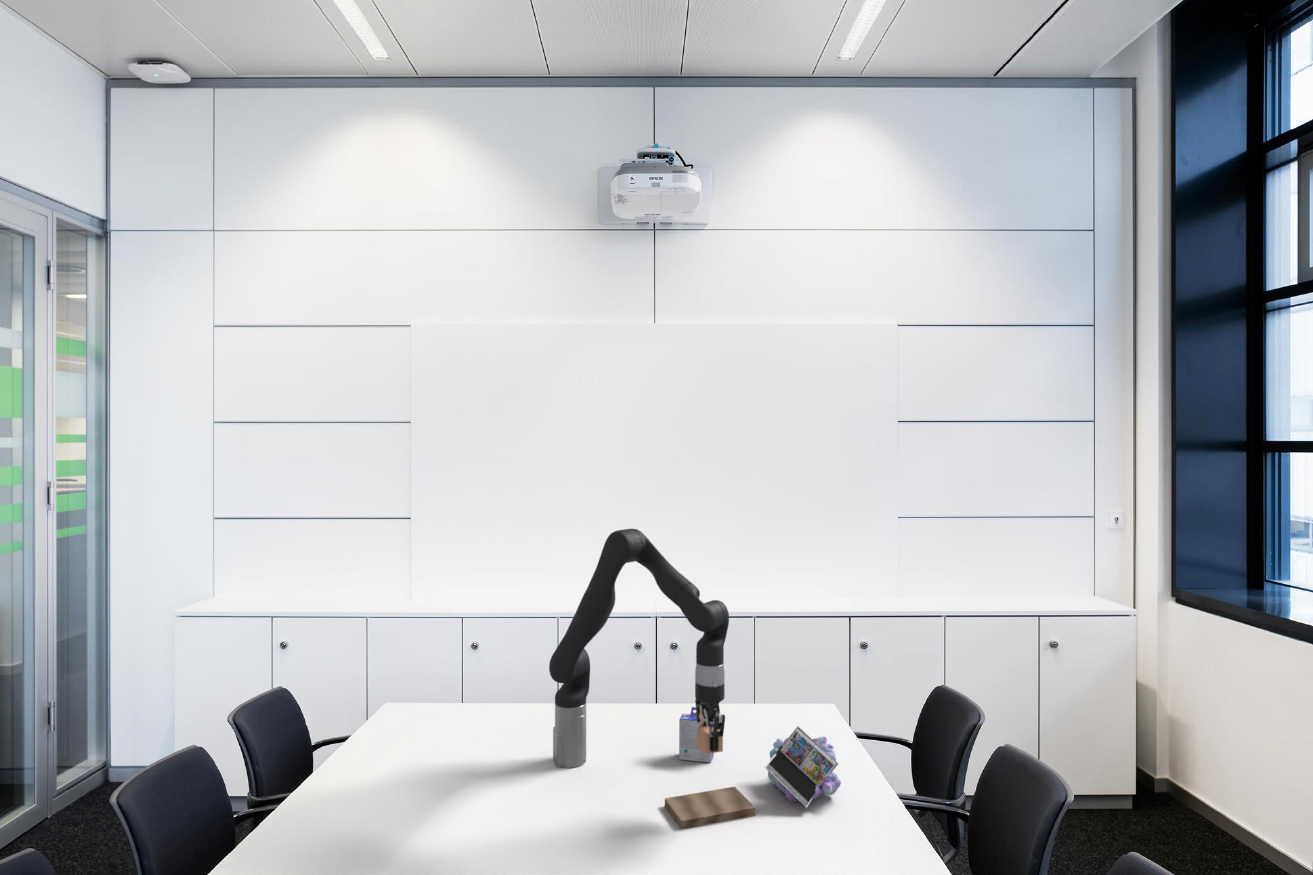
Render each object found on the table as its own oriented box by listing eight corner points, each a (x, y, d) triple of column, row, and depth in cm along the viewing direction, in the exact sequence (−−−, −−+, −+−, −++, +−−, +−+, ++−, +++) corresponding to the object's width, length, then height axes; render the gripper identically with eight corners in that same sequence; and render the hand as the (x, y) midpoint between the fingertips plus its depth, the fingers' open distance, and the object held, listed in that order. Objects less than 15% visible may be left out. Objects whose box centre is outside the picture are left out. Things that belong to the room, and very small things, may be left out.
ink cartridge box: (714, 755, 223) (714, 707, 223) (711, 763, 218) (712, 713, 218) (681, 752, 225) (682, 704, 225) (678, 760, 220) (678, 711, 220)
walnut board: (681, 829, 181) (681, 821, 181) (664, 806, 193) (664, 798, 193) (755, 815, 188) (755, 807, 188) (734, 793, 199) (734, 786, 199)
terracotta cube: (704, 754, 187) (704, 734, 187) (696, 746, 192) (696, 726, 192) (722, 751, 189) (722, 731, 189) (714, 743, 194) (714, 724, 194)
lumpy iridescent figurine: (823, 751, 215) (794, 702, 213) (869, 781, 195) (837, 726, 192) (771, 798, 209) (740, 748, 206) (812, 833, 189) (778, 778, 186)
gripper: (685, 673, 196) (685, 737, 196) (707, 690, 182) (707, 760, 182) (711, 670, 198) (711, 734, 198) (735, 687, 185) (735, 755, 185)
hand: (709, 746), depth 190 cm, fingers closed on terracotta cube, 5 cm apart
